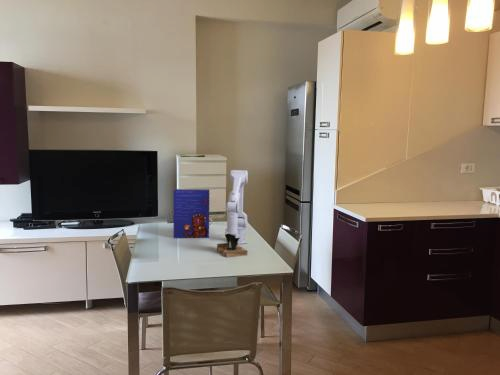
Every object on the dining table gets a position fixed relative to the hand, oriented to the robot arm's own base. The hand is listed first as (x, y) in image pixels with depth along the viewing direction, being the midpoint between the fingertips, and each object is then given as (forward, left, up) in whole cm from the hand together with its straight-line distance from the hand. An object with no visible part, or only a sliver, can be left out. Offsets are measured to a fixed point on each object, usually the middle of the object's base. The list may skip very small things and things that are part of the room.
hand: (231, 247), depth 241 cm
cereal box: (-42, -10, -3) cm, 43 cm away
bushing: (0, 0, -2) cm, 2 cm away
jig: (0, 0, -3) cm, 3 cm away
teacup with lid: (-59, +4, -3) cm, 59 cm away
